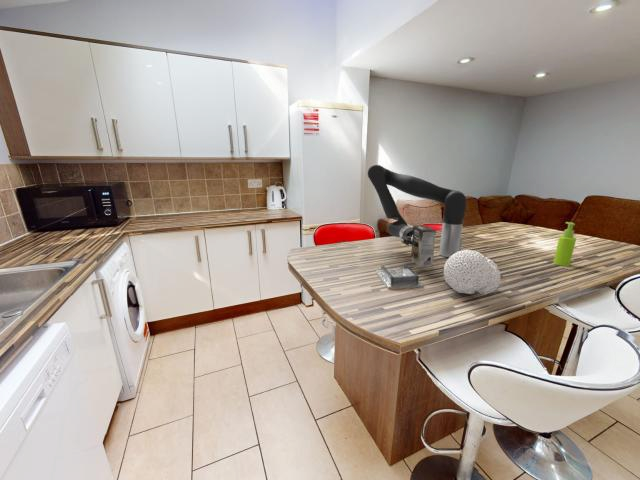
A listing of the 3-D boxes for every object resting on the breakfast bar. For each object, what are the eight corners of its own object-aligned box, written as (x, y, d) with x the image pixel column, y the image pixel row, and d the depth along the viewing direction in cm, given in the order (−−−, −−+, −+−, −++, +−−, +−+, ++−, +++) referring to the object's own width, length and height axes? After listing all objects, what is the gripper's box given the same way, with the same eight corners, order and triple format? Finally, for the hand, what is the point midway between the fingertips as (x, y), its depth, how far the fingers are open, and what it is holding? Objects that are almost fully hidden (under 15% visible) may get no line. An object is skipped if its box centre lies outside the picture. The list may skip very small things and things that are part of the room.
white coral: (467, 283, 89) (472, 238, 94) (429, 287, 105) (435, 249, 110) (511, 303, 94) (513, 259, 99) (468, 304, 110) (472, 266, 115)
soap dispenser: (565, 262, 132) (576, 221, 126) (571, 266, 126) (582, 224, 120) (550, 260, 134) (560, 220, 129) (555, 265, 128) (565, 223, 123)
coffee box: (410, 259, 125) (412, 225, 121) (423, 258, 126) (426, 224, 121) (418, 266, 116) (421, 230, 112) (433, 266, 117) (436, 229, 112)
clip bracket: (406, 271, 122) (406, 262, 121) (423, 287, 106) (424, 277, 105) (375, 272, 121) (376, 263, 120) (388, 289, 105) (388, 279, 104)
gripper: (395, 228, 131) (409, 237, 115) (424, 226, 132) (442, 235, 116) (394, 243, 133) (408, 253, 117) (423, 241, 134) (440, 252, 118)
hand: (425, 244), depth 116 cm, fingers closed on coffee box, 6 cm apart
